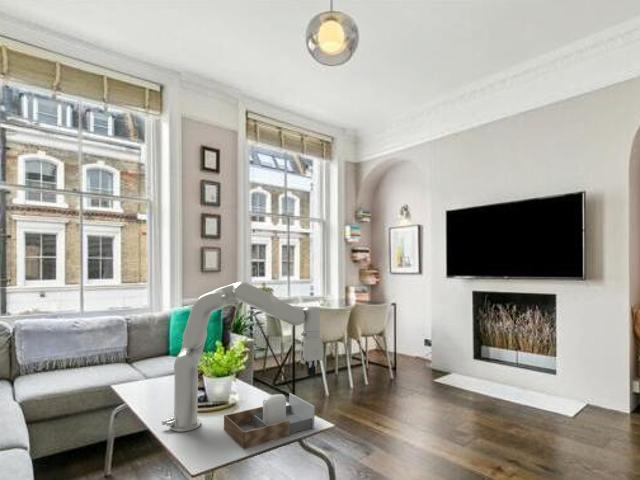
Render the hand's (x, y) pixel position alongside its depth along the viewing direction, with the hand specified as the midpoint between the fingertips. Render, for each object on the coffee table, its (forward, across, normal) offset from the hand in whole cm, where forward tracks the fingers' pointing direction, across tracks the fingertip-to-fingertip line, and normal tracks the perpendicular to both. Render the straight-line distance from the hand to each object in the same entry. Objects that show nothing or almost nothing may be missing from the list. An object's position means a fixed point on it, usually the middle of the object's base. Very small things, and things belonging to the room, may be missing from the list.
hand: (311, 375), depth 182 cm
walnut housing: (+19, -27, 0) cm, 33 cm away
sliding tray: (+19, -16, 0) cm, 25 cm away
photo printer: (+18, -18, 0) cm, 26 cm away
